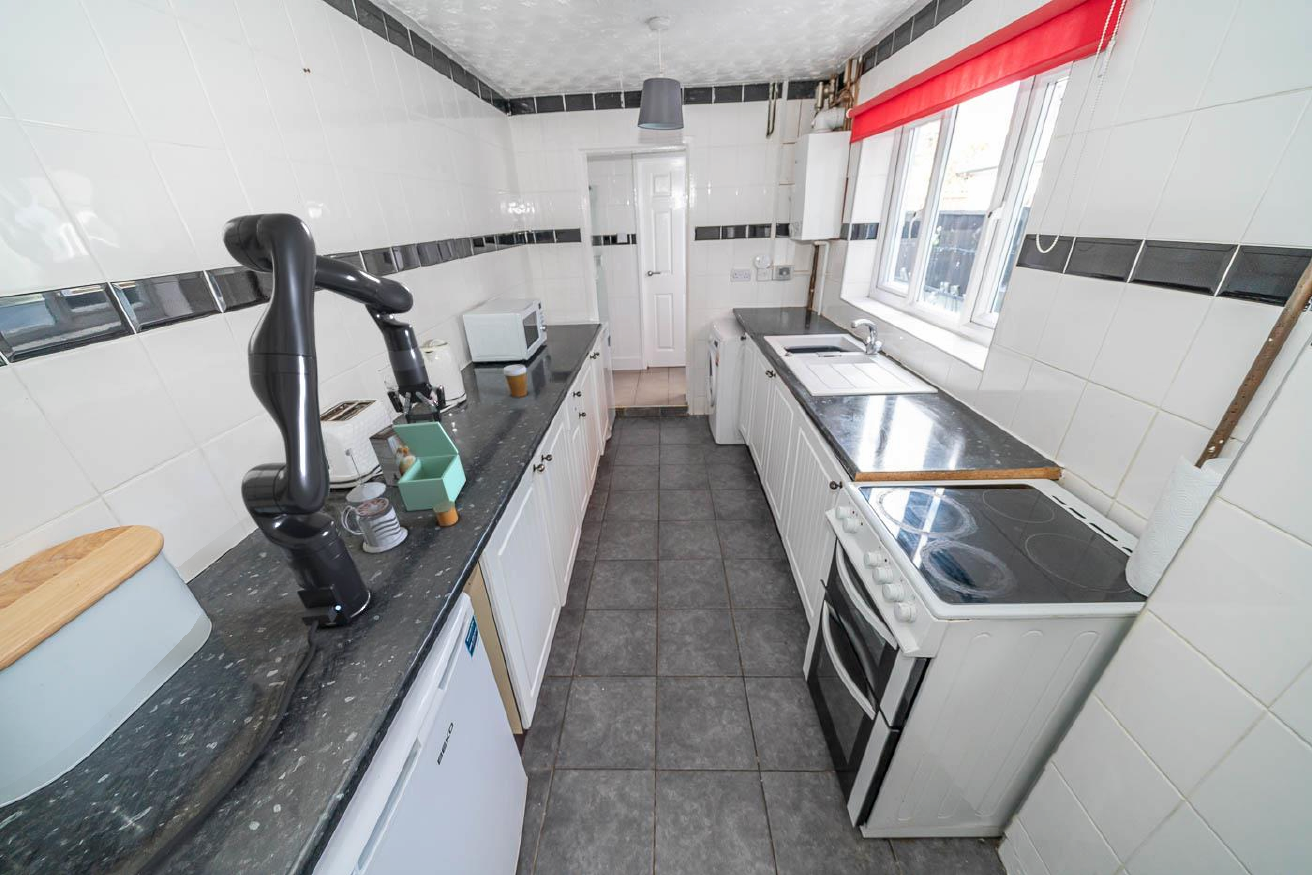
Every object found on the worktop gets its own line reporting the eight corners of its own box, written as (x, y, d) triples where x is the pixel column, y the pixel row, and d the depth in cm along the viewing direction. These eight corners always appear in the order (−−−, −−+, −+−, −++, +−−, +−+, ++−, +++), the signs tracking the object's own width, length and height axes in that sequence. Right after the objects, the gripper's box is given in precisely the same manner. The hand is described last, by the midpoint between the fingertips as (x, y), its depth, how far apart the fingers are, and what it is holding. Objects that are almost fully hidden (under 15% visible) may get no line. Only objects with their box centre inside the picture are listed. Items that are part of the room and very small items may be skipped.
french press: (416, 533, 112) (383, 444, 101) (369, 562, 103) (328, 468, 92) (392, 522, 117) (359, 435, 105) (346, 549, 108) (304, 458, 97)
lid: (437, 423, 117) (441, 407, 121) (392, 427, 117) (396, 410, 120) (458, 453, 129) (460, 437, 132) (416, 457, 129) (420, 441, 132)
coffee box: (407, 469, 141) (391, 423, 134) (425, 471, 140) (410, 424, 132) (386, 485, 133) (368, 437, 126) (405, 487, 132) (387, 438, 124)
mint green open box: (451, 506, 122) (442, 479, 118) (407, 510, 121) (397, 483, 117) (466, 480, 134) (458, 454, 130) (425, 483, 133) (417, 457, 129)
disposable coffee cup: (506, 393, 198) (501, 366, 192) (528, 388, 201) (523, 362, 196) (510, 400, 190) (504, 372, 184) (532, 395, 193) (527, 368, 188)
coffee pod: (455, 525, 114) (451, 511, 112) (435, 527, 114) (430, 513, 112) (461, 513, 118) (457, 499, 116) (442, 515, 118) (437, 501, 116)
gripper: (372, 371, 112) (393, 432, 120) (431, 367, 113) (448, 428, 120) (386, 363, 119) (404, 421, 126) (441, 359, 120) (457, 417, 127)
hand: (426, 424), depth 123 cm, fingers closed on lid, 6 cm apart
